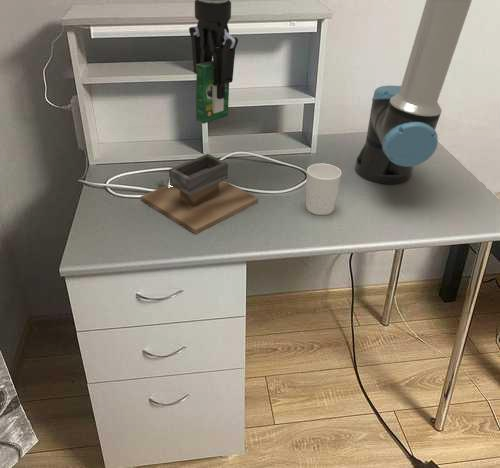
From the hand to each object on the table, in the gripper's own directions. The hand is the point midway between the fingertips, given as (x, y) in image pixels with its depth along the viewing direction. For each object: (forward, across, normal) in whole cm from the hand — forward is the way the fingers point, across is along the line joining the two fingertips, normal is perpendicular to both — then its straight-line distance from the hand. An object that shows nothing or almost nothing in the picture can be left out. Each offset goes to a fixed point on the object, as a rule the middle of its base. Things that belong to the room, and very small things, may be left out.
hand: (212, 108), depth 121 cm
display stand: (+21, +2, -6) cm, 22 cm away
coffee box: (+3, 0, 0) cm, 3 cm away
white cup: (+21, +24, +13) cm, 35 cm away
